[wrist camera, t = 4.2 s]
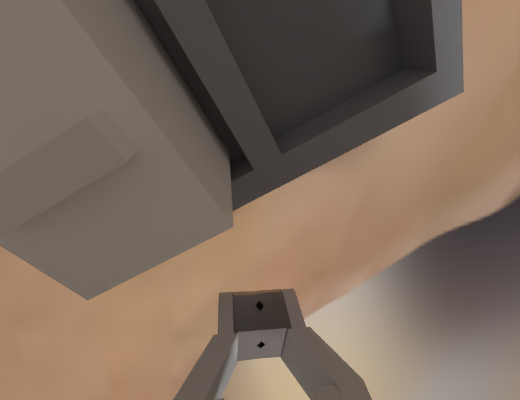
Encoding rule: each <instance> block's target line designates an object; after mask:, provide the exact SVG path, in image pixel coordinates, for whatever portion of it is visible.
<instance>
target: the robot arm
mask: <svg viewBox="0 0 520 400" xmlns="http://www.w3.org/2000/svg"><path fill="white" fill-rule="evenodd" d="M269 357H270V358H271V357H281V359H282V360H283V362H284V363H285V364H286V366H287V367H288V369H289V370H290V371H291V373H292V374H293V376H294V377H295V378H296V380H297V381H298V382H299V384H300V385H301V387H302V388H303V390H304V391H305V393H306V394H307V395H308V397H309V398H310V400H372V399H371V397H370V394H369V392H368V390H367V387H366V385H365V383H364V381H363V379H362V378H361V377H360V376H359V375H358V374H357V373H355V371H354V370H353V369H352V368H351V367H350V366H349V365H348V364H347V363H346V362H345V361H343V359H342V358H341V357H340V356H339V355H338V354H337V353H336V352H334V350H332V348H331V347H329V345H328V344H327V343H325V341H324V340H322V339H321V337H319V335H317V334H316V333H315V332H314V331H313V330H312V329H311V328H310V327H306V325H305V322H304V318H303V315H302V312H301V309H300V306H299V302H298V299H297V296H296V293H295V290H294V289H274V290H260V291H250V292H223V293H219V307H218V334H217V335H214V336H213V337H212V339H211V340H210V342H209V344H208V345H207V347H206V348H205V350H204V352H203V353H202V355H201V356H200V358H199V359H198V361H197V363H196V364H195V366H194V367H193V369H192V371H191V372H190V374H189V375H188V377H187V379H186V380H185V382H184V383H183V385H182V387H181V388H180V390H179V391H178V393H177V395H176V396H175V398H174V399H173V400H224V399H223V398H221V397H222V395H223V393H224V390H225V388H226V386H227V384H228V381H229V379H230V377H231V375H232V373H233V370H234V368H235V366H236V364H237V361H242V360H250V359H257V358H269Z"/></svg>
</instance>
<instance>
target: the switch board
mask: <svg viewBox="0 0 520 400" xmlns="http://www.w3.org/2000/svg"><path fill="white" fill-rule="evenodd" d="M135 2H136V4H137V5H138V7H139V8H140V10H141V12H142V13H143V15H144V16H145V18H146V20H147V21H148V23H149V24H150V26H151V28H152V29H153V31H154V32H155V34H156V36H157V37H158V39H159V40H160V42H161V44H162V45H163V47H164V48H165V50H166V51H167V53H168V55H169V56H170V58H171V59H172V61H173V63H174V64H175V66H176V67H177V69H178V71H179V72H180V74H181V75H182V77H183V79H184V80H185V82H186V83H187V85H188V87H189V88H190V90H191V91H192V93H193V95H194V96H195V98H196V99H197V101H198V103H199V104H200V106H201V107H202V109H203V111H204V112H205V114H206V115H207V117H208V119H209V120H210V122H211V123H212V125H213V127H214V128H215V130H216V131H217V133H218V135H219V136H220V138H221V139H222V141H223V143H224V144H225V146H226V147H227V149H228V151H229V157H230V174H231V192H232V210H233V211H234V210H236V209H238V208H239V207H241V206H243V205H245V204H247V203H249V202H251V201H253V200H255V199H257V198H259V197H261V196H263V195H265V194H267V193H268V192H270V191H272V190H274V189H276V188H278V187H280V186H282V185H284V184H286V183H288V182H290V181H292V180H294V179H296V178H298V177H299V176H301V175H303V174H305V173H307V172H309V171H311V170H313V169H315V168H317V167H319V166H321V165H323V164H325V163H327V162H328V161H330V160H332V159H334V158H336V157H338V156H340V155H342V154H344V153H346V152H348V151H350V150H352V149H354V148H356V147H358V146H359V145H361V144H363V143H365V142H367V141H369V140H371V139H373V138H375V137H377V136H379V135H381V134H383V133H385V132H387V131H388V130H390V129H392V128H394V127H396V126H398V125H400V124H402V123H404V122H406V121H408V120H410V119H412V118H414V117H416V116H418V115H419V114H421V113H423V112H425V111H427V110H429V109H431V108H433V107H435V106H437V105H439V104H441V103H443V102H445V101H447V100H448V99H450V98H452V97H454V96H456V95H458V94H460V93H462V92H464V88H463V43H462V0H135Z"/></svg>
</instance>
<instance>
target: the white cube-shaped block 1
mask: <svg viewBox="0 0 520 400" xmlns="http://www.w3.org/2000/svg"><path fill="white" fill-rule="evenodd" d="M232 227H233V210H232V192H231V174H230V157H229V151H228V149H227V147H226V146H225V144H224V143H223V141H222V139H221V138H220V136H219V135H218V133H217V131H216V130H215V128H214V127H213V125H212V123H211V122H210V120H209V119H208V117H207V115H206V114H205V112H204V111H203V109H202V107H201V106H200V104H199V103H198V101H197V99H196V98H195V96H194V95H193V93H192V91H191V90H190V88H189V87H188V85H187V83H186V82H185V80H184V79H183V77H182V75H181V74H180V72H179V71H178V69H177V67H176V66H175V64H174V63H173V61H172V59H171V58H170V56H169V55H168V53H167V51H166V50H165V48H164V47H163V45H162V44H161V42H160V40H159V39H158V37H157V36H156V34H155V32H154V31H153V29H152V28H151V26H150V24H149V23H148V21H147V20H146V18H145V16H144V15H143V13H142V12H141V10H140V8H139V7H138V5H137V4H136V2H135V0H0V246H2V247H3V248H5V249H7V250H8V251H10V252H11V253H13V254H15V255H16V256H18V257H19V258H21V259H23V260H24V261H26V262H27V263H29V264H31V265H32V266H34V267H35V268H37V269H39V270H40V271H42V272H43V273H45V274H46V275H48V276H50V277H51V278H53V279H54V280H56V281H58V282H59V283H61V284H62V285H64V286H66V287H67V288H69V289H70V290H72V291H74V292H75V293H77V294H78V295H80V296H82V297H83V298H85V299H86V300H89V299H91V298H93V297H95V296H97V295H99V294H101V293H103V292H105V291H107V290H109V289H111V288H113V287H115V286H117V285H119V284H121V283H123V282H125V281H127V280H129V279H131V278H133V277H135V276H137V275H139V274H141V273H143V272H145V271H147V270H149V269H151V268H153V267H155V266H157V265H159V264H161V263H162V262H164V261H166V260H168V259H170V258H172V257H174V256H176V255H178V254H180V253H182V252H184V251H186V250H188V249H190V248H192V247H194V246H196V245H198V244H200V243H202V242H204V241H206V240H208V239H210V238H212V237H214V236H216V235H218V234H220V233H222V232H224V231H226V230H228V229H230V228H232Z"/></svg>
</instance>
